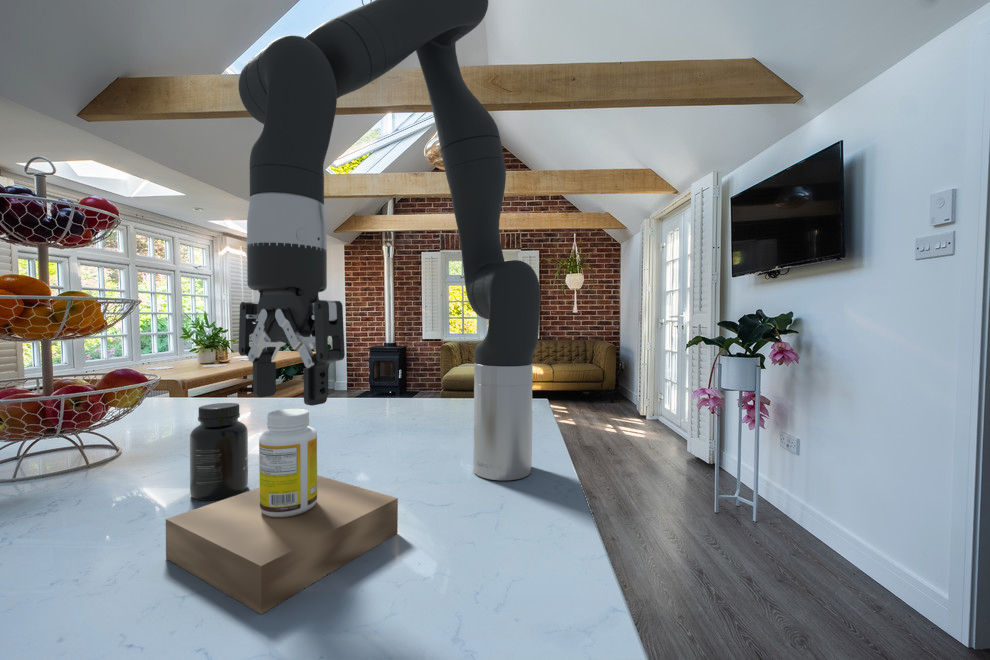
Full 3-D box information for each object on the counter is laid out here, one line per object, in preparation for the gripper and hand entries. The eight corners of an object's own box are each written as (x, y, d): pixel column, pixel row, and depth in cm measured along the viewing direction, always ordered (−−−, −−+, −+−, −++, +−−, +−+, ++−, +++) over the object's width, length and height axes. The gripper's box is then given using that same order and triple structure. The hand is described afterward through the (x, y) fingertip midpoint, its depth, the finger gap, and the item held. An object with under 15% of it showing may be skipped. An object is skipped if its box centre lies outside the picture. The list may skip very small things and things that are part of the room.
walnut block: (306, 502, 58) (305, 471, 58) (397, 533, 50) (397, 498, 50) (165, 558, 44) (165, 519, 44) (261, 614, 36) (261, 566, 36)
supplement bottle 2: (302, 493, 51) (301, 404, 51) (327, 507, 47) (327, 411, 47) (250, 509, 47) (249, 412, 46) (273, 525, 43) (273, 420, 43)
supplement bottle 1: (259, 487, 63) (258, 403, 62) (210, 505, 57) (210, 412, 56) (227, 479, 66) (227, 399, 65) (178, 496, 59) (177, 407, 59)
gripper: (364, 245, 46) (364, 401, 46) (279, 254, 53) (280, 389, 53) (300, 233, 39) (300, 414, 40) (213, 245, 47) (214, 398, 47)
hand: (288, 400), depth 47 cm, fingers open, 8 cm apart
